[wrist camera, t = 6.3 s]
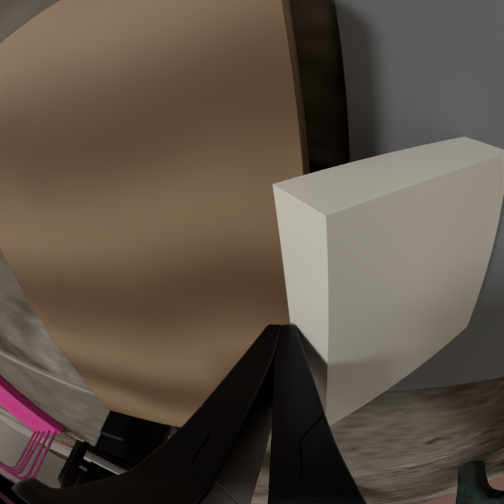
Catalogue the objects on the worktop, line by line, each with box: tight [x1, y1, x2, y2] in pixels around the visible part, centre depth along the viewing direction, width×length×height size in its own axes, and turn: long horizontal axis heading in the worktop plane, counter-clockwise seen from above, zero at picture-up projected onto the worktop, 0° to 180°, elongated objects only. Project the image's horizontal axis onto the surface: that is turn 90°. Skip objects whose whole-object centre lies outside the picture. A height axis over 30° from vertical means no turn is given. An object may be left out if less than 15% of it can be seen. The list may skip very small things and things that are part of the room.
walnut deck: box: [0, 0, 310, 440], centre depth 13 cm, size 22×14×4 cm, turn 8°
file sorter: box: [0, 376, 65, 481], centre depth 40 cm, size 17×25×16 cm
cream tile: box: [273, 137, 504, 426], centre depth 9 cm, size 8×8×2 cm
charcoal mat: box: [334, 0, 504, 392], centre depth 11 cm, size 22×13×1 cm, turn 8°
